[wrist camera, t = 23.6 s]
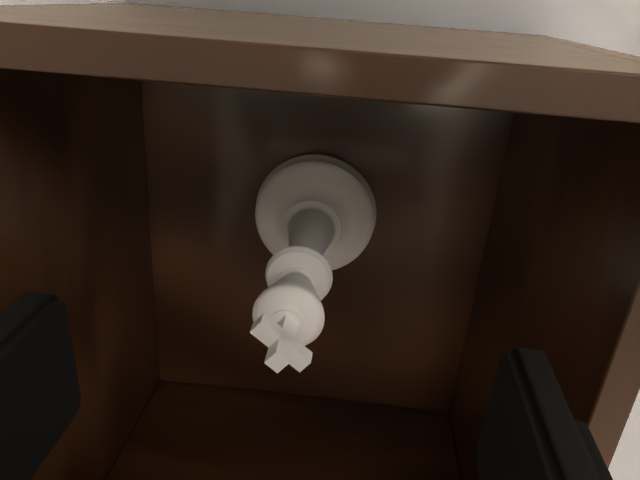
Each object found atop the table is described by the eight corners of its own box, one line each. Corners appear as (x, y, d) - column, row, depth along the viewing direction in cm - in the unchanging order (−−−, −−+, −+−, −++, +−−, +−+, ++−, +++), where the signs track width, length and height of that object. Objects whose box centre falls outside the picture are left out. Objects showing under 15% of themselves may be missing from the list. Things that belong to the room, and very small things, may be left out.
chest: (123, 2, 20) (-158, 8, 10) (547, 35, 19) (762, 83, 9) (151, 379, 28) (10, 624, 17) (460, 415, 27) (519, 695, 16)
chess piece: (319, 287, 24) (285, 470, 14) (232, 213, 22) (137, 360, 13) (402, 212, 22) (423, 366, 13) (311, 127, 21) (264, 229, 12)
